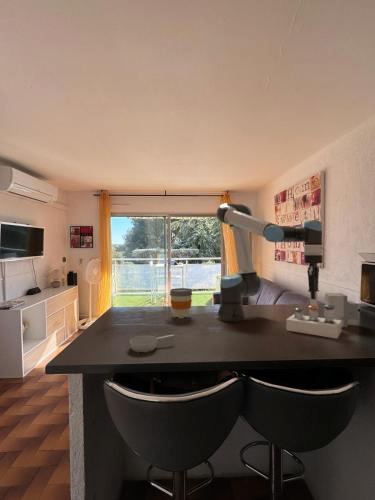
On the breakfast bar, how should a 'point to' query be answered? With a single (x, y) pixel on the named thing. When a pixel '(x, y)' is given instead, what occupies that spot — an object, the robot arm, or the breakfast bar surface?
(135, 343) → the small pan
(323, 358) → the breakfast bar surface
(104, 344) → the breakfast bar surface
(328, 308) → the plunger right
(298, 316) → the plunger left
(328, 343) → the breakfast bar surface
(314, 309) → the plunger mid
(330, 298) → the circuit breaker
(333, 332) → the panel
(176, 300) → the reusable coffee cup
